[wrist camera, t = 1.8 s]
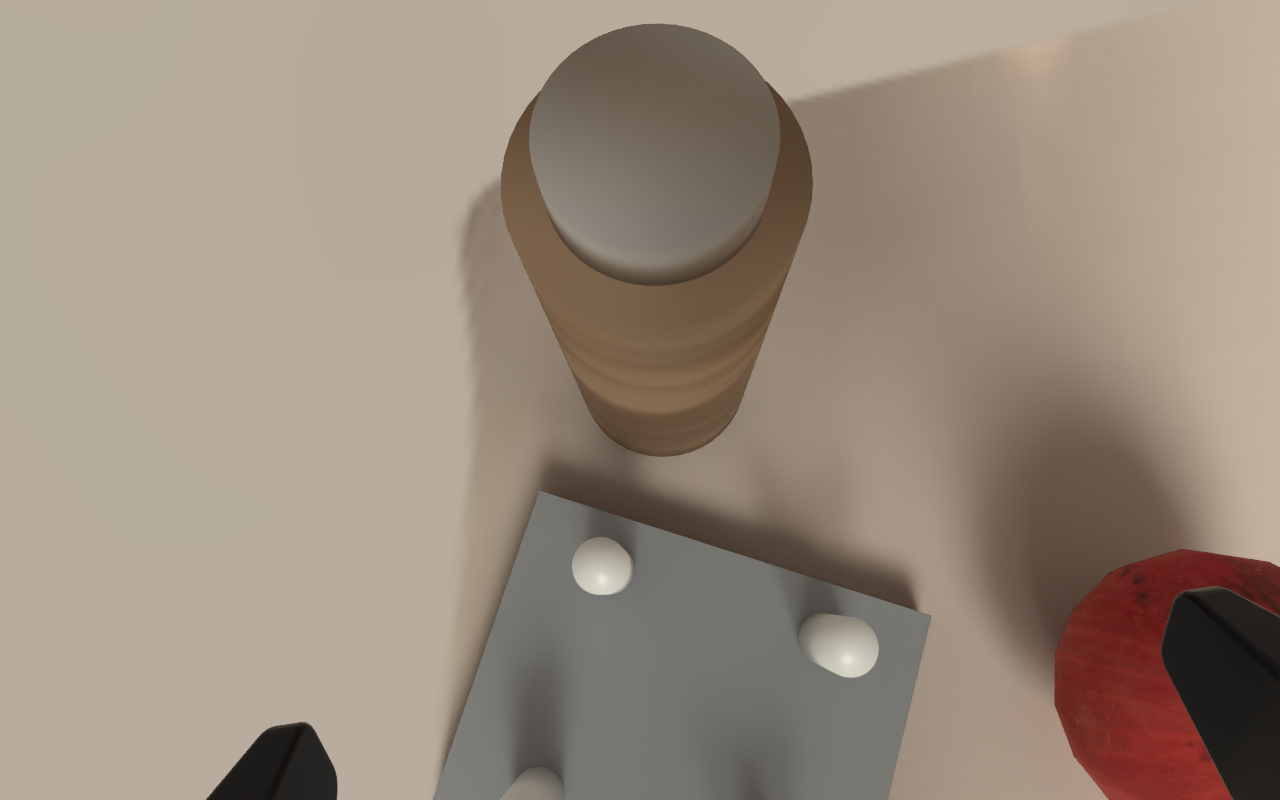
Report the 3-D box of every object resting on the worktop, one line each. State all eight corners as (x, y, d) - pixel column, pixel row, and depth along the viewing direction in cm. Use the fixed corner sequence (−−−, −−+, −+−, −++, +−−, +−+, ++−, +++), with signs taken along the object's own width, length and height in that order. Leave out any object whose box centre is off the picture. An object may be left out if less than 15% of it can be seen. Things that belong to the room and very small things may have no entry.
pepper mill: (718, 478, 22) (774, 341, 10) (560, 428, 23) (433, 242, 11) (764, 324, 23) (867, 30, 11) (611, 280, 23) (547, -50, 11)
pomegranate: (1005, 543, 22) (1195, 516, 14) (1239, 574, 21) (1570, 565, 13) (994, 786, 20) (1197, 908, 12) (1243, 823, 20) (1610, 974, 12)
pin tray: (837, 952, 20) (879, 1041, 16) (438, 807, 21) (383, 857, 17) (919, 614, 21) (975, 619, 17) (545, 494, 22) (518, 474, 18)
